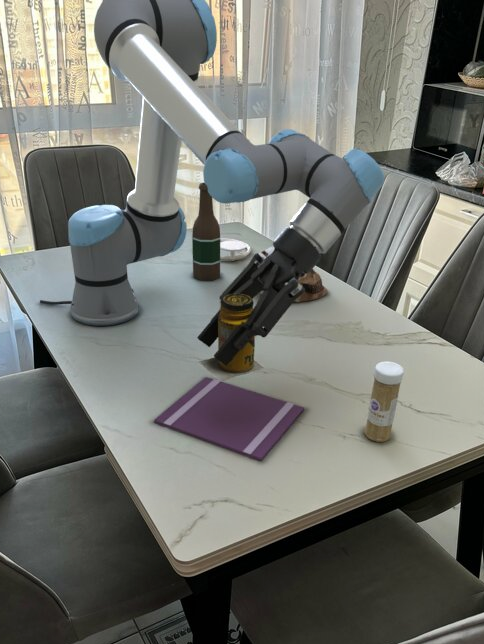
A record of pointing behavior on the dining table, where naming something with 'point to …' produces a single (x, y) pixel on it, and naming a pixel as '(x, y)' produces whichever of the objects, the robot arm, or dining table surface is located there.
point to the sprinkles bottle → (383, 400)
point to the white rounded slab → (233, 248)
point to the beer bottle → (206, 239)
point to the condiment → (229, 318)
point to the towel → (231, 417)
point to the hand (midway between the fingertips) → (211, 351)
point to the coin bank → (305, 282)
